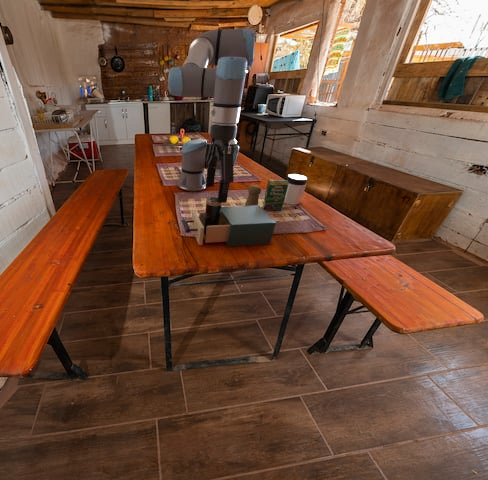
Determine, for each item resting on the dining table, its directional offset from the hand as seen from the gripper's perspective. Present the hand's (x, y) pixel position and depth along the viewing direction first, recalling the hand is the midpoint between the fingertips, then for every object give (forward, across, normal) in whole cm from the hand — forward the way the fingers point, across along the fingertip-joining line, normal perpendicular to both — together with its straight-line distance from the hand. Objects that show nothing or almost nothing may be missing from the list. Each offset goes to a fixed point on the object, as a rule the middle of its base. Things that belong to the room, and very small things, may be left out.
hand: (215, 194), depth 84 cm
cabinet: (+17, 0, +12) cm, 21 cm away
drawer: (+16, 0, 0) cm, 16 cm away
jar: (+17, -27, +47) cm, 57 cm away
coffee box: (+17, -20, +34) cm, 43 cm away
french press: (+16, -72, +24) cm, 78 cm away
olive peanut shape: (+17, -20, +24) cm, 36 cm away
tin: (+15, 0, 0) cm, 15 cm away
